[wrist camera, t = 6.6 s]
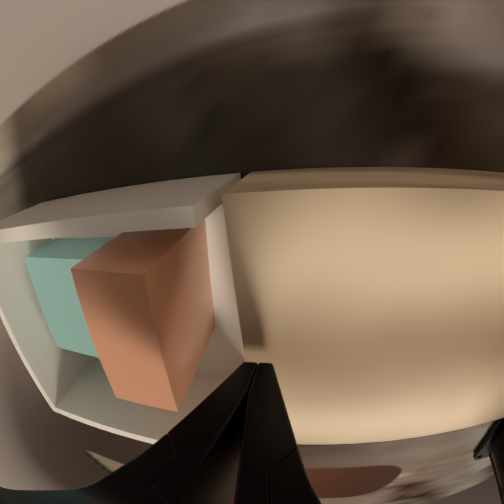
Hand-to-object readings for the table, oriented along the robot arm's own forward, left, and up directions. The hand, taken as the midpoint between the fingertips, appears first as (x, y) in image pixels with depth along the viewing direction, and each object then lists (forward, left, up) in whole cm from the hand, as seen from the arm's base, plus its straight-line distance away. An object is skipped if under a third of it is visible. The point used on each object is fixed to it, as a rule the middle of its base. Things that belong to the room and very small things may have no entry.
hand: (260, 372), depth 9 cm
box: (0, +6, -5) cm, 8 cm away
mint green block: (0, +8, -2) cm, 9 cm away
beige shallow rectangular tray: (0, -7, -5) cm, 9 cm away
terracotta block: (+1, +3, -2) cm, 3 cm away
